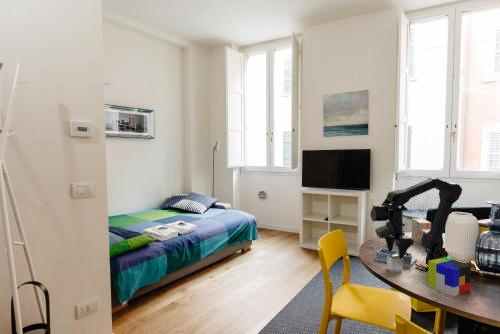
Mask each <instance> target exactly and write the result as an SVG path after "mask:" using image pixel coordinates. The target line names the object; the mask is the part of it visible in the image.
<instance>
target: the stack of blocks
mask: <svg viewBox="0 0 500 334" xmlns="http://www.w3.org/2000/svg"><path fill="white" fill-rule="evenodd" d="M431 226H432V222H430V221H428V220H427V219H425V218H423V217H421V218H419V217H418V218H417V217H411V238H412V239H413V241H414V242H416V243H417V244H418V245H420V246H421V247H422V245H421V242H422V241H420V240H421V239H422V237H423V233H426V234H427V233H428V232H429V231H430V229H431Z"/></svg>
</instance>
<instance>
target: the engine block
mask: <svg viewBox="0 0 500 334" xmlns="http://www.w3.org/2000/svg"><path fill="white" fill-rule="evenodd" d="M403 267H404V266H403V258H402V259H400V258H399V255H397V254H390V256H387V263H386V269H387V270H388V271H390V272H391V273H400V272H401V273H403V271H404V270H403V269H404V268H403Z"/></svg>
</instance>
